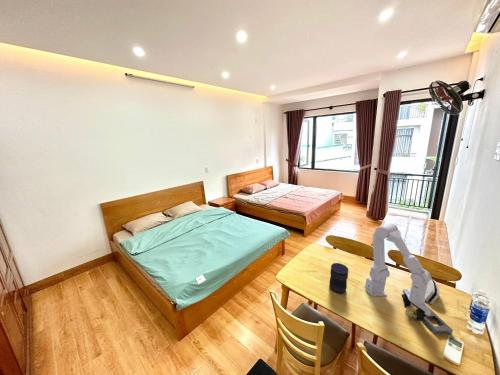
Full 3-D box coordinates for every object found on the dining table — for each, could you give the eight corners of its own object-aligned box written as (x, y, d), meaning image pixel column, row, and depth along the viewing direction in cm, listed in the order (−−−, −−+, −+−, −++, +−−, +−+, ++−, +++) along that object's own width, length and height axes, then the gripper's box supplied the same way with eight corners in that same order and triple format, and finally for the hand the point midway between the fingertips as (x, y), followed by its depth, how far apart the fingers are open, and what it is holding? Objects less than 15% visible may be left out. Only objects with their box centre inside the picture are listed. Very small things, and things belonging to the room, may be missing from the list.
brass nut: (411, 320, 102) (413, 311, 100) (405, 313, 105) (407, 305, 104) (419, 319, 102) (421, 311, 100) (412, 313, 106) (414, 304, 104)
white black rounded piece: (415, 282, 127) (425, 271, 123) (424, 287, 125) (434, 276, 121) (420, 300, 113) (432, 289, 109) (430, 306, 111) (442, 294, 107)
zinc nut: (416, 311, 107) (418, 302, 105) (410, 305, 110) (412, 296, 109) (423, 310, 107) (425, 302, 105) (417, 304, 111) (419, 296, 109)
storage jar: (347, 295, 118) (350, 274, 114) (330, 293, 120) (332, 272, 116) (344, 283, 127) (346, 263, 123) (328, 281, 129) (329, 262, 126)
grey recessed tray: (435, 334, 94) (436, 330, 93) (402, 300, 113) (403, 297, 113) (451, 333, 94) (452, 329, 94) (416, 300, 113) (417, 296, 113)
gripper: (439, 303, 93) (433, 326, 96) (413, 281, 107) (408, 302, 110) (424, 304, 92) (419, 327, 96) (400, 282, 106) (396, 302, 110)
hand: (412, 313), depth 103 cm, fingers open, 7 cm apart
